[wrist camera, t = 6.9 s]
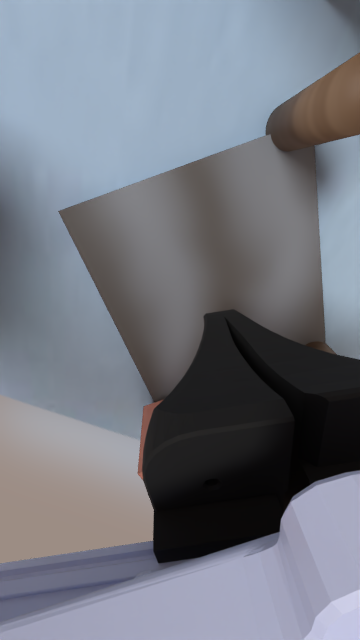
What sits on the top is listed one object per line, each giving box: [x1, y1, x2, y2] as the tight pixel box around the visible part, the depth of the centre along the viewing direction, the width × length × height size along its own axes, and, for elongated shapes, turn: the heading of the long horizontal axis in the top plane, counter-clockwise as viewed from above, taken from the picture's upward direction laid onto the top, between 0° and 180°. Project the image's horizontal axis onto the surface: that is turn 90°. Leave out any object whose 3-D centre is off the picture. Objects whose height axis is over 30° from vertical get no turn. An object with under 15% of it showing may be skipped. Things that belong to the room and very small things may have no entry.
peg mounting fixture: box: [58, 53, 360, 402], centre depth 13 cm, size 13×16×7 cm
